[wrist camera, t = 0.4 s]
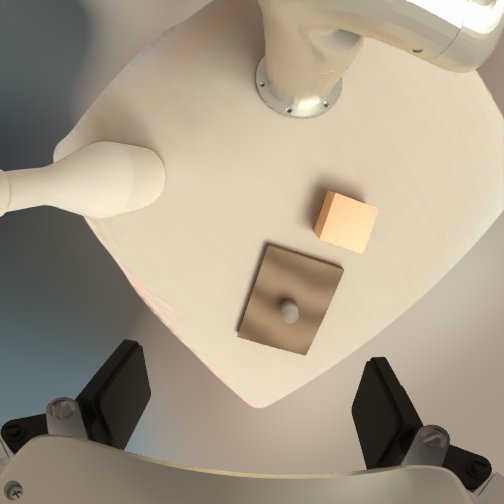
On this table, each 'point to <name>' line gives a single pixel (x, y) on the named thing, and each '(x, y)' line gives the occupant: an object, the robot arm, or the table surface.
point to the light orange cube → (345, 222)
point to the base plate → (293, 286)
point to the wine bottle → (88, 182)
